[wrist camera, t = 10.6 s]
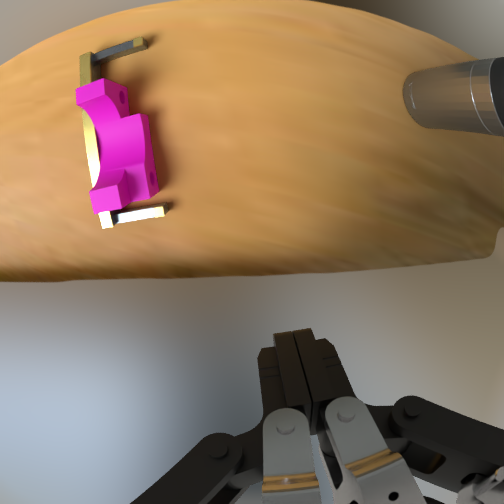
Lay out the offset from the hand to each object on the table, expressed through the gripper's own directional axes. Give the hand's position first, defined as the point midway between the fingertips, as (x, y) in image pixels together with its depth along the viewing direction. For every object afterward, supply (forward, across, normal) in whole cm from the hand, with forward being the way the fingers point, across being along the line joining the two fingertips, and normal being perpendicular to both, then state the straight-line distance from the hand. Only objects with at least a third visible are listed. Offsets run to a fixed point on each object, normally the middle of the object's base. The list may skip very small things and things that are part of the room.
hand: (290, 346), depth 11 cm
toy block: (+27, +15, -10) cm, 33 cm away
